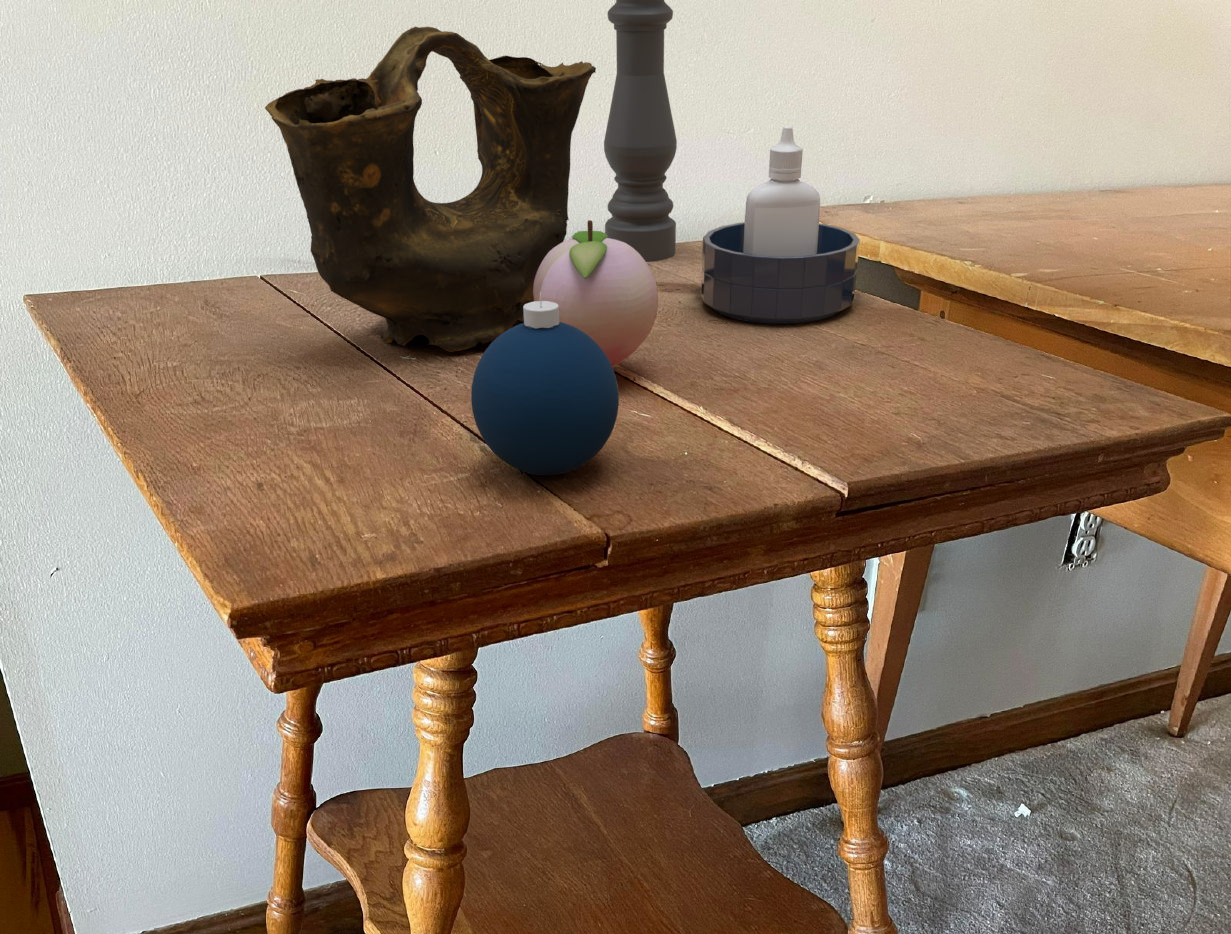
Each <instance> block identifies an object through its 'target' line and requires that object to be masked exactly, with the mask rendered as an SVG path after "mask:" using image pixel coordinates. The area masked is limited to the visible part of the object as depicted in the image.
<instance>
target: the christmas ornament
mask: <svg viewBox="0 0 1231 934" xmlns="http://www.w3.org/2000/svg"><path fill="white" fill-rule="evenodd" d="M523 311H524V318H523V323H519V324H516V325H515V326H514V325H513V326H512V327H511V328H510V329H509V330H507V331H505V332H504V333H502V334H501V335H500V336H499V337H497V338H496V339H495V340H494V341H491V343H490V344H489V346H488V347H487V348H486V349H485V351H484V352H483V353H482V355H481V357H480V359H479V361H478V363H477V366H476V368H475V371H474V373H473V378H472V381H471V382H472V383H471V389H470V391H471V393H470V394H471V395H470V398H471V399H470V400H471V409H472V410H471V411H472V415H473V418H474V422H475V424H476V427H477V430H478V433H479V434H480V436H481V438H482V439H483V441H484V443H485V444H486V445H487V447H488V448H489V449H490V450H491V451H492V453H493V454H495V456H497V458H498V459H500V460H501V461H502V462H504V463H505V464H507V465H508V466H510V467H512V468H514V469H516V470H517V471H520V472H524V473H526V474H531V475H535V476H536V475H537V476H557V475H561V474H566V473H569V472H572V471H574V470H576V469H579V468H580V467H582V466H584V465H585V464H587V463H588V462H590V461H591V460H592V459H593V458H594V457H595V456H597V455H598V453H599V452H601V450H602V449H603V447H604V446H605V445H606V443H607V442H608V440H609V438H610V436H611V435H612V432H613V430H614V427H615V425H616V421H617V418H618V412H619V405H620V404H619V402H620V401H619V400H620V394H619V385H618V381H617V377H616V374H615V370H614V368H613V367H612V366H611V363H610V361H609V359H608V358H607V356H606V355H605V353H604V352H603V350H602V349H601V348H600V346H599V345H598V344H597V343H596V342H595V341H594V340H593V339H592V338H591V337H589V336H588V335H587V334H585V333H584V332H582V331H581V330H579V329H577V328H575V327H573V326H571V325H569V324H566V323H562V322H559V306H558V304H557V303H554V302H549V301H541V292H540V301H535V302H530V303H527V304H525V305H524V307H523Z"/></svg>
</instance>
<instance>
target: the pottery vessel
mask: <svg viewBox="0 0 1231 934" xmlns="http://www.w3.org/2000/svg"><path fill="white" fill-rule="evenodd" d="M432 52H433V53H435V54H437V55H439V56H441V57H444V58H446V59H448V60H449V61H450V62H451V63H452V65H453V67H454V68H455V70H456V72H457V73H458V75H459V79H460V80H461V81H462V82H463V83H464V85H465V86H466V88H467V90H468V91H469V93H470V99H471V101H472V103H473V115H474V125H475V134H476V135H475V136H476V145H477V147H476V148H477V149H476V152H477V159H478V161H479V163H480V164H481V176H480V179H479V182H478V183H477V185H476V186H475V187H474V189H473V190H472V191H471V192H470V193H468V194H467V195H466V196H464V197H462V198H460V199H457V200H455V201H451V202H434V201H430V200H428V199H427V198H426V197H424V196H423V195H422V194H421V193H420V191H419V190H418V188H417V186H416V183H415V179H414V175H415V173H414V171H415V169H414V168H415V167H414V158H415V157H414V155H415V147H414V132H415V123H416V118H417V115H418V113H419V111H420V109H421V107H422V105H423V98H422V97H421V96H420V93H419V92H418V90H419V81H420V79H421V77H422V75H423V73H424V71H425V69H426V66H427V60H428V57H429V55H430V54H431V53H432ZM596 69H597V67H595V66H594V65H592V62H587V61H586V62H583V61H582V60H581V61H579V62H575V63H572V64H567V65H565V64H564V62H561V63H559V64H558V65H556V66H548V65H546V64H543V63H542V62H539V61H537V60H535V59H533V58H531V57H526V56H519V57H516V56H511V55H501V56H498V57H495V58H491V59H489V58H487V56H486V55H485V54H484V53H483V52H482V50H481V49H480V48H479V46H477V45H476V44H475V43H473V42H471V41H470V40H468V39H466V38H465V37H463V36H461V35H460V34H459V33H458V32H454V31H448V30H447V31H446V30H445V31H442V30H440V29H438V28H436V27H433V26H419V27H418V26H413V27H410V28H409V29H407V30H405V31H404V32H402V33H401V34H400V35H399V36H398V37H397V39H396V40H395V41H394V42H393V44H392V45H391V46H390V48H389V50H387V52H386V53H385V55H384V56H383V57H382V59H381V60H380V61H379V62H378V63H377V64H376V66H375V68H373V70H372V71H371V72H370V74H369V75H368V77H366V78H358V79H357V78H355V77H353V78H348V79H335V80H332V79H331V80H330V79H329V80H328V79H324V78H320V79H319V78H317V79H315V80H314V81H315V83H314V84H312V85H310V86H305V87H304V88H298V89H294V90H291V91H288V92H285V94H283V95H281V96H279V97H277V98H275V99H273V100H272V101H270V102H268V103H267V104H266V105H265V106H264V109H265V110H266V112H267V113H268V115H270V117H271V120H272V121H273V122H274V123H275V125H276V126H277V127H278V128H279V131H280V133H281V136H282V138H283V141H284V143H285V145H286V148H287V152H288V156H289V160H290V164H291V167H292V170H293V175H294V178H295V181H296V185H297V189H298V191H299V194H300V198H301V200H302V203H303V207H304V208H305V213H306V218H307V222H308V224H309V225H308V226H309V229H310V234H311V236H310V239H311V240H310V253H311V255H312V257H313V260H314V264H315V267H316V270H317V272H318V274H319V277H320V278H321V279H322V280H323V281H324V282H325V283H326V284H327V285H328V287H329V290H330V292H331V293H333V294H334V295H337V296H339V297H341V298H343V299H344V300H346V301H348V302H350V303H352V304H354V305H356V306H358V307H360V308H362V309H363V310H365V311H367V312H370V313H372V314H374V315H375V316H376V315H377V316H379V317H382V318H383V319H385V320H386V325H387V327H386V329H385V330H384V331H383V332H381V334H380V339H382V341H383V342H384V343H386V344H391V343H393V340H394V341H395V342H396V343H397V344H398V345H402V346H403V347H404V346H406V345H407V344H408V343H409V342H410V341H412V340H413V339H414V338H415V337H417V336H424V337H426V338H427V339H428V342H429V343H428V346H429V345H431V346H432V345H433V346H437V347H439V348H441V349H443V350H444V351H447V352H449V353H451V352H459V351H464V350H467V349H470V348H474V347H476V346H477V344H478V343H481V344H483V345H484V344H486V343H488V342H493V341H494V340H495V339H496V338H497V337H499V336H500V335H501V334H502V333H504V332H505V331H507V330H509V329H510V328H512V327H514V324H516V323H517V321H518V320H523V319H524V311H523V307H524V305H525V304H527V303H530V302H534V296H533V286H534V280H535V276H536V273H537V271H538V268H539V266H540V264H541V263H542V261H543V259H544V258H545V256H546V255H547V254H548V252H549V251H550V250H552V249H553V248H554V247H556V246H557V245H559V244H560V243H562V242H564V241H565V238H566V236H567V235H568V233H567V232H568V231H567V229H568V228H567V227H568V221H570V220H569V214H568V210H569V209H568V205H569V190H570V189H569V188H570V187H569V184H570V183H569V182H570V175H571V147H572V145H571V144H572V135H573V131H574V128H575V126H576V123H577V121H578V117H579V114H580V109H581V106H582V104H583V101H584V97H585V93H586V89H587V87H588V84H589V80H590V79H591V78H592V76H593V74H596V73H597V72H596Z"/></svg>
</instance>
